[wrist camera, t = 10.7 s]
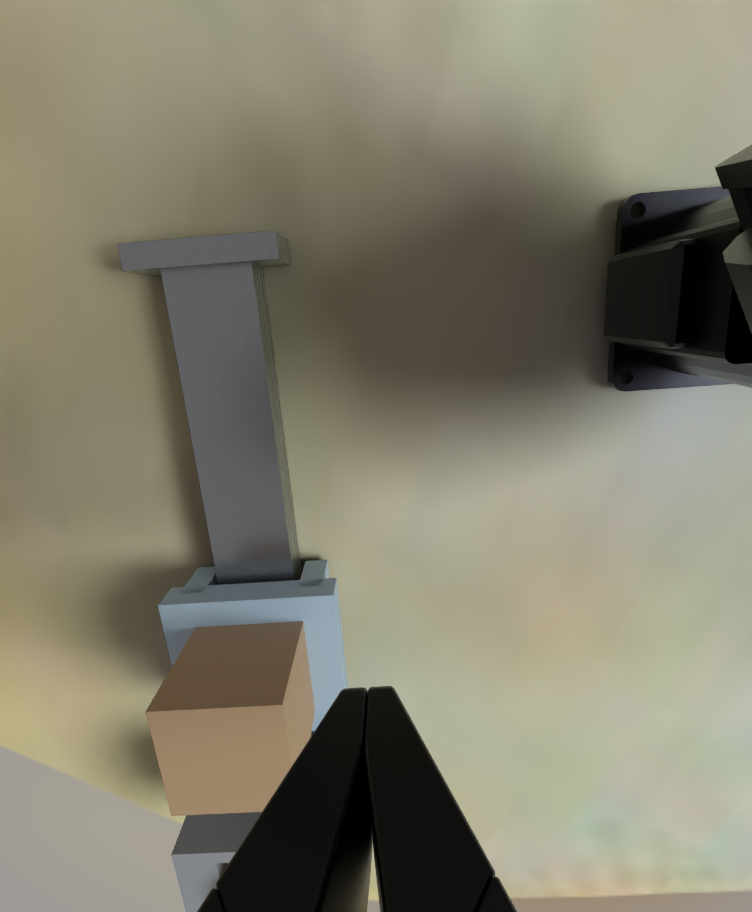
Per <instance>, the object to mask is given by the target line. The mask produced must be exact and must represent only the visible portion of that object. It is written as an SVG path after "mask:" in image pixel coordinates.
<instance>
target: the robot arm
mask: <svg viewBox="0 0 752 912" xmlns="http://www.w3.org/2000/svg"><path fill="white" fill-rule="evenodd" d="M715 169H716V172H717V175H718V177H719V180H720V183H721V186H722V187H712V188H700V189H688V190H675V191H663V192H651V193H639V194H636V195H633V196H630V197H628V198H627V199H625V200H624V201H623V202H622V203H621V204H620V206H619V208H618V212H617V223H616V240H615V256H614V257H613V258H612V259H611V260H610V261H609V263H608V271H607V289H606V308H605V326H604V335H605V336H606V337H607V338H608V339H609V340H610V342H609V360H608V383H609V384H610V386H611V387H613V388H615V389H617V390H620V391H636V390H650V389H665V388H679V387H693V386H708V385H722V384H738V385H743V386H748V387H752V145H750V146H749V147H747V148H745V149H744V150H742V151H740V152H739V153H737V154H735V155H734V156H732V157H730V158H729V159H727V160H725V161H724V162H722V163H720V164H719V165H717V166H716V167H715ZM633 204H635V205H637V206H638V207H639V210H640V213H639V216H638V217H637V218H633V217H632V216H631V214H630V209H631V206H632V205H633ZM623 371H627V372H628V378H627V380H626V381H625V382H623V383H621V382H620V380H619V377H620V374H621V373H622V372H623ZM372 841H373V848H374V858H375V868H376V877H377V886H378V894H379V903H380V912H517V910H516V909H515V907H514V905H513V903H512V901H511V899H510V898H509V896H508V894H507V892H506V890H505V889H504V887H503V885H502V883H501V881H500V879H499V878H498V877H495V871H494V869H493V867H492V866H491V864H490V862H489V860H488V858H487V856H486V855H485V853H484V851H483V849H482V847H481V845H480V844H479V842H478V840H477V838H476V836H475V835H474V833H473V831H472V829H471V827H470V825H469V824H468V822H467V820H466V818H465V816H464V815H463V813H462V811H461V809H460V807H459V805H458V804H457V802H456V800H455V798H454V796H453V795H452V793H451V791H450V789H449V787H448V785H447V784H446V782H445V780H444V778H443V776H442V774H441V773H440V771H439V769H438V767H437V765H436V764H435V762H434V760H433V758H432V756H431V754H430V753H429V751H428V749H427V747H426V745H425V744H424V742H423V740H422V738H421V736H420V734H419V733H418V731H417V729H416V727H415V725H414V724H413V722H412V720H411V718H410V716H409V714H408V713H407V711H406V709H405V707H404V705H403V703H402V702H401V700H400V698H399V696H398V694H397V693H396V691H395V689H394V688H393V687H391V686H380V687H371V688H369V690H368V691H367V689H366V688H363V687H361V688H345V689H343V690H341V692H340V693H339V694H338V696H337V698H336V699H335V701H334V702H333V704H332V705H331V707H330V708H329V710H328V711H327V713H326V714H325V716H324V718H323V719H322V721H321V722H320V724H319V725H318V727H317V728H316V730H315V731H314V733H313V734H312V736H311V738H310V739H309V741H308V742H307V744H306V745H305V747H304V748H303V750H302V751H301V753H300V754H299V756H298V757H297V759H296V761H295V762H294V764H293V765H292V767H291V768H290V770H289V771H288V773H287V774H286V776H285V777H284V779H283V781H282V782H281V784H280V785H279V787H278V788H277V790H276V791H275V793H274V794H273V796H272V797H271V799H270V800H269V802H268V804H267V805H266V807H265V808H264V810H263V811H262V813H261V814H260V816H259V817H258V819H257V820H256V822H255V824H254V825H253V827H252V828H251V830H250V831H249V833H248V834H247V836H246V837H245V839H244V840H243V842H242V844H241V845H240V847H239V848H238V850H237V851H236V853H235V854H234V856H233V857H232V859H231V860H230V862H229V863H228V865H227V867H226V868H225V870H224V871H223V873H222V874H221V876H220V877H219V879H218V880H217V882H216V889H215V888H213V889H211V891H210V892H209V894H208V895H207V897H206V898H205V900H204V901H203V903H202V904H201V906H200V908H199V909H198V911H197V912H367V904H368V893H369V883H370V872H371V860H372Z"/></svg>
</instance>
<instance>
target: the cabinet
mask: <svg viewBox="0 0 752 912" xmlns="http://www.w3.org/2000/svg"><path fill="white" fill-rule="evenodd" d="M261 813H262V812H247V813H224V814H202V815H187V816H186V818H185V821H184V823H183V826H182V829H181V831H180V834H179V837H178V839H177V842H176V844H175V847H174V849H173V852H172V859H173V862H174V867H175V870H176V875H177V878H178V882H179V886H180V890H181V894H182V898H183V902H184V906H185V909H186V912H197V911H198V909H199V908H200V906H201V904H202V903H203V901H204V900H205V898H206V897H207V895H208V894H209V892H210V891H211V889H213V888H215V889H216V882H217V880H218V879H219V877H220V876H221V874H222V873H223V871H224V870H225V868H226V867H227V865H228V863H229V862H230V860H231V859H232V857H233V856H234V854H235V853H236V851H237V850H238V848H239V847H240V845H241V844H242V842H243V840H244V839H245V837H246V836H247V834H248V833H249V831H250V830H251V828H252V827H253V825H254V824H255V822H256V820H257V819H258V817H259V816H260V814H261Z"/></svg>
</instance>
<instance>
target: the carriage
mask: <svg viewBox="0 0 752 912" xmlns="http://www.w3.org/2000/svg"><path fill="white" fill-rule="evenodd" d="M158 608H159V612H160V617H161V621H162V626H163V630H164V635H165V639H166V644H167V648H168V653H169V657H170V661H171V666H172V668H171V670H170V671H169V673H168V675H167V676H166V678H165V680H164V681H163V683H162V685H161V687H160V688H159V690H158V692H157V693H156V695H155V697H154V698H153V700H152V702H151V704H150V705H149V707H148V709H147V710H146V716H147V720H148V724H149V728H150V732H151V736H152V740H153V744H154V748H155V752H156V756H157V760H158V764H159V768H160V772H161V776H162V780H163V784H164V788H165V792H166V796H167V800H168V804H169V808H170V812H171V816H180V815H202V814H224V813H247V812H262V811H263V810H264V808H265V807H266V805H267V804H268V802H269V800H270V799H271V797H272V796H273V794H274V793H275V791H276V790H277V788H278V787H279V785H280V784H281V782H282V781H283V779H284V777H285V776H286V774H287V773H288V771H289V770H290V768H291V767H292V765H293V764H294V762H295V761H296V759H297V757H298V756H299V754H300V753H301V751H302V750H303V748H304V747H305V745H306V744H307V742H308V741H309V739H310V738H311V732H312V731H315V730H316V728H317V727H318V725H319V724H320V722H321V721H322V719H323V718H324V716H325V714H326V713H327V711H328V710H329V708H330V707H331V705H332V704H333V702H334V701H335V699H336V698H337V696H338V694H339V693H340V692H341V690H343V689H345V688H348V683H347V673H346V664H345V654H344V645H343V636H342V626H341V617H340V608H339V598H338V589H337V580H336V578H329V569H328V560H315V561H306V562H305V565H304V568H303V572H302V575H301V578H300V580H292V581H275V582H259V583H242V584H225V585H218V582H217V576H216V571H215V567H199V568H197V570H196V571H195V572H194V574H193V575H192V577H191V578H190V579H189V581H188V582H187V584H186V585H185V586H184V587H174V588H171V589H170V590H169V592H168V593H167V594H166V595H165V597H164V598H163V599H162V601H161V602H160V603H159V605H158Z"/></svg>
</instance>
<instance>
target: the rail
mask: <svg viewBox="0 0 752 912" xmlns="http://www.w3.org/2000/svg"><path fill="white" fill-rule="evenodd" d="M117 246H118V251H119V256H120V261H121V266H122V271H127V272H134V273H140V274H147V275H159V274H161V276H162V281H163V287H164V292H165V298H166V303H167V309H168V314H169V320H170V325H171V331H172V336H173V341H174V347H175V352H176V358H177V363H178V369H179V374H180V380H181V385H182V391H183V396H184V402H185V407H186V412H187V418H188V423H189V429H190V434H191V440H192V445H193V451H194V456H195V462H196V467H197V473H198V478H199V483H200V489H201V494H202V500H203V505H204V511H205V516H206V522H207V527H208V533H209V538H210V543H211V549H212V554H213V560H214V565H215V571H216V576H217V582H218V585H225V584H242V583H259V582H275V581H292V580H300V578H301V575H302V572H301V565H300V557H299V549H298V541H297V534H296V526H295V518H294V510H293V502H292V495H291V487H290V479H289V471H288V464H287V456H286V448H285V440H284V433H283V425H282V417H281V409H280V401H279V394H278V386H277V378H276V370H275V363H274V355H273V347H272V339H271V331H270V324H269V316H268V308H267V300H266V293H265V285H264V277H263V269H262V266H273V265H286V264H290V258H289V249H288V240H287V239H286V238H285V237H283V236H282V235H281V234H279V233H278V232H277V231H265V232H253V233H241V234H228V235H216V236H204V237H191V238H179V239H167V240H155V241H142V242H130V243H118V244H117ZM313 733H314V731H312V732H311V736H312V734H313Z"/></svg>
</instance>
